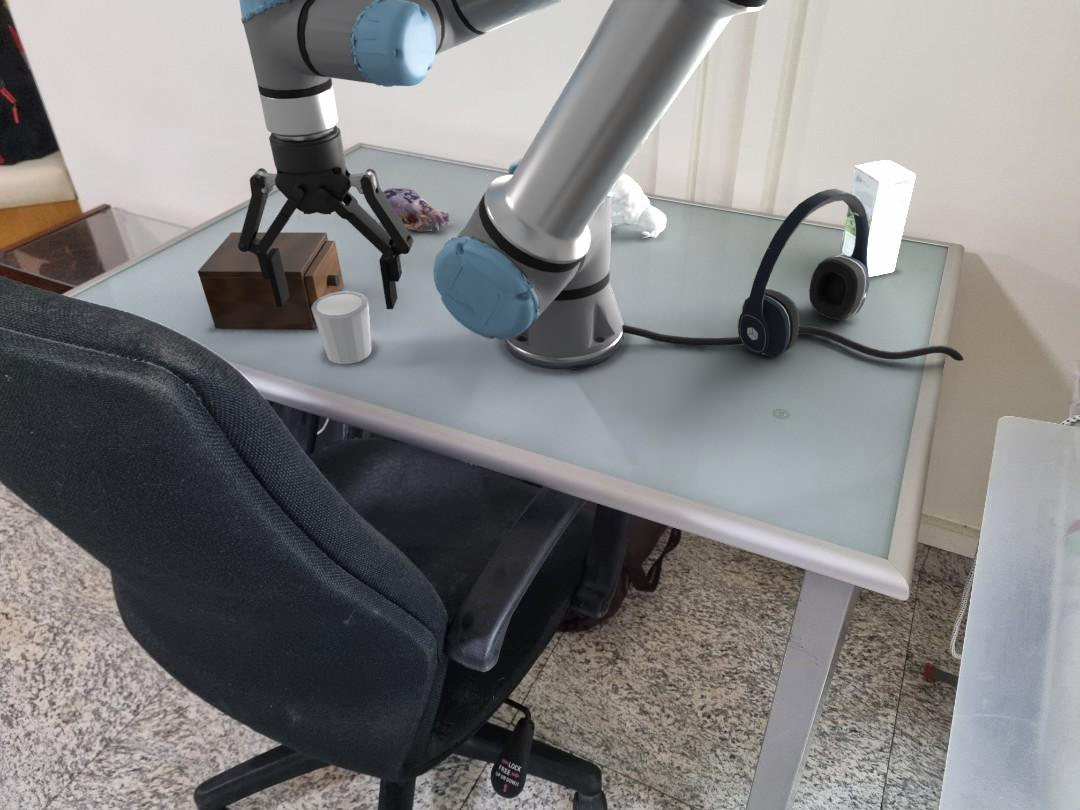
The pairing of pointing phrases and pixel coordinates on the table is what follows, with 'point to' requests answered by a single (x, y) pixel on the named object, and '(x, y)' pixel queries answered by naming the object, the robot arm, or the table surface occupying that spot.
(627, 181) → the white figurine
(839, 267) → the headphones
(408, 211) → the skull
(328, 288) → the drawer
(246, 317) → the cabinet
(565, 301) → the robot arm
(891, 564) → the table surface
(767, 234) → the table surface
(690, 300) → the table surface
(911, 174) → the syrup box
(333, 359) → the shot glass
